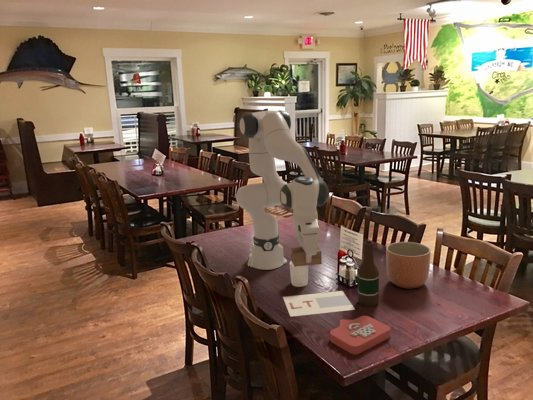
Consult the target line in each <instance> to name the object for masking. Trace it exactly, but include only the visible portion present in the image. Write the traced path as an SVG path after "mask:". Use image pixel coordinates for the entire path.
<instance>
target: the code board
mask: <svg viewBox="0 0 533 400" xmlns="http://www.w3.org/2000/svg"><path fill="white" fill-rule="evenodd" d="M282 298H283V301H284V304H285V306H286V309H287V311H288V314H289V316H290V317H300V316H301V317H302V316H308V315H309V316H310V315H319V314H326V313H328V314H329V313H335V312H336V313H337V312H344V311H353V310H354V311H355V310H356V309H355V307H354V305H353V304H352V302H351V301H350V300H349V298H348V297H347V296H346V294H345V292H344V291H343V290H339V291H328V292H319V293H309V294H300V295H299V294H298V295H290V296H289V295H287V296H282Z"/></svg>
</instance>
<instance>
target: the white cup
mask: <svg viewBox="0 0 533 400" xmlns="http://www.w3.org/2000/svg"><path fill="white" fill-rule="evenodd" d="M309 266H310V265H307V266H296V267H294V265H293V263H292V261H291V260H290V261H289V272H290V273H289V274H290V281H291V285H292V286H293V287H297V288H298V287H299V288H300V287H305V286H308V283H309Z"/></svg>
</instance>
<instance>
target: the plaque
mask: <svg viewBox="0 0 533 400" xmlns="http://www.w3.org/2000/svg"><path fill="white" fill-rule="evenodd" d="M391 331H392V330H391V327H390V326H389V325H387V324H385V323H383V322H381V321H379V320H377V319H375V318H373V317H371V316H370V315H369V316H368V315H360V316H359V317H357V318H355V319H340V320H339V325H338V327H335V328H333V329H331V330H330V331H329V340H330V342H331V343H332V344H334V345H335V346H337V347H339V348H341V349H342V350H344V351H346V352H347V353H349V354H351V355H359V354H361V353H364V352H365V351H368V350H369V349H370V348H373V347H375V346H377V345H379V344H381V343H382V342H384V341H387V340H388V339H390V338H391Z"/></svg>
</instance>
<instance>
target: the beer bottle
mask: <svg viewBox="0 0 533 400" xmlns="http://www.w3.org/2000/svg"><path fill="white" fill-rule="evenodd" d="M374 246H375V245H374V242H373V241H370V240H367V241H364V242H363V254H362V255H363V257H362V262H361V264H360V265H359V267H358V269H357V301H358V303H359V305H360V306H363V307H375V306H377V305H378V304H379V297H380V296H379V295H380V292H379V291H380V289H379V287H380V276H379V275H380V273H379V269H378V267H377V265H376V264H375V260H374V259H375V258H374Z"/></svg>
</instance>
